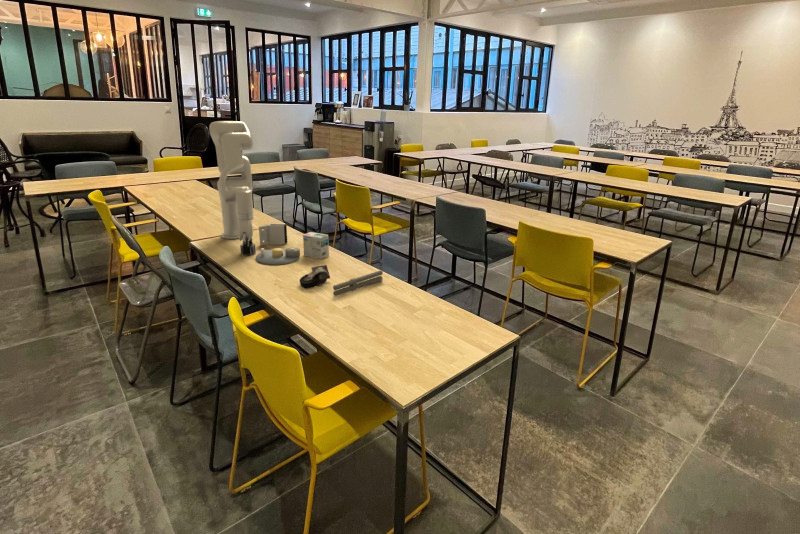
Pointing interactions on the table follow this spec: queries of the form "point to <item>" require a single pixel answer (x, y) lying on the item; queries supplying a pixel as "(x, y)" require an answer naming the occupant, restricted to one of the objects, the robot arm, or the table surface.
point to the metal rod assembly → (357, 283)
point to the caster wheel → (315, 277)
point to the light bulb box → (316, 245)
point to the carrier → (278, 256)
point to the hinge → (273, 234)
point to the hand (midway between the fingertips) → (248, 251)
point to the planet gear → (252, 249)
